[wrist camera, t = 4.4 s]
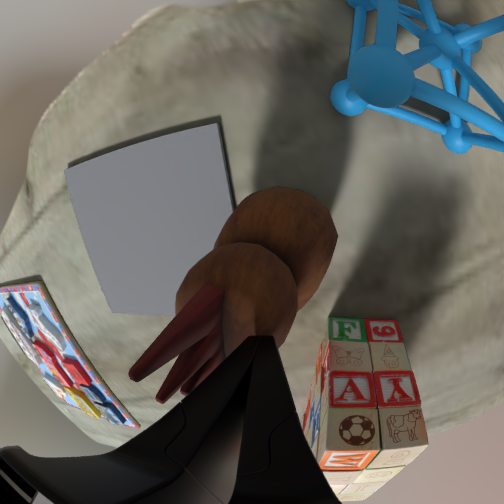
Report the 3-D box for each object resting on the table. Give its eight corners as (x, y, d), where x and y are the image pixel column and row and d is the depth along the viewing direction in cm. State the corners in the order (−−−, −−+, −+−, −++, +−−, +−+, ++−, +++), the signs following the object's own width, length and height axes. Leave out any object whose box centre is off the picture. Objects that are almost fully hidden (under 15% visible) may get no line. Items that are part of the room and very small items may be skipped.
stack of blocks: (342, 437, 30) (338, 517, 19) (297, 435, 31) (284, 516, 20) (397, 317, 21) (431, 446, 10) (326, 313, 22) (325, 454, 11)
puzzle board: (-7, 286, 35) (-16, 292, 32) (45, 277, 29) (32, 287, 26) (69, 401, 46) (64, 409, 44) (143, 424, 40) (137, 435, 38)
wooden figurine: (274, 161, 17) (58, 274, 5) (355, 203, 17) (307, 437, 4) (240, 245, 21) (89, 399, 8) (309, 283, 20) (216, 482, 8)
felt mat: (219, 122, 17) (216, 123, 17) (254, 313, 23) (252, 317, 23) (67, 169, 21) (64, 170, 20) (114, 309, 27) (111, 312, 26)
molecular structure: (471, 36, 10) (554, 7, 1) (459, 156, 15) (555, 193, 6) (343, -14, 11) (361, -101, 2) (325, 111, 16) (347, 93, 7)
